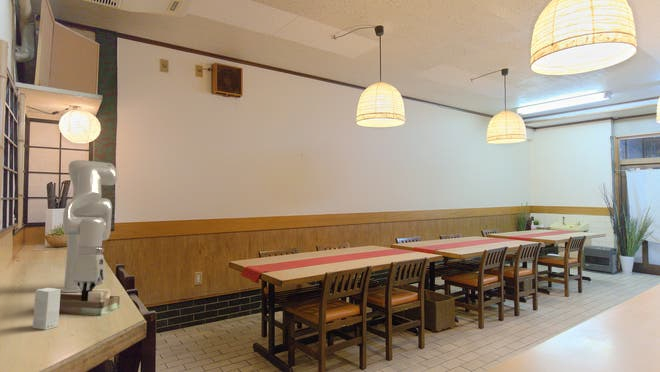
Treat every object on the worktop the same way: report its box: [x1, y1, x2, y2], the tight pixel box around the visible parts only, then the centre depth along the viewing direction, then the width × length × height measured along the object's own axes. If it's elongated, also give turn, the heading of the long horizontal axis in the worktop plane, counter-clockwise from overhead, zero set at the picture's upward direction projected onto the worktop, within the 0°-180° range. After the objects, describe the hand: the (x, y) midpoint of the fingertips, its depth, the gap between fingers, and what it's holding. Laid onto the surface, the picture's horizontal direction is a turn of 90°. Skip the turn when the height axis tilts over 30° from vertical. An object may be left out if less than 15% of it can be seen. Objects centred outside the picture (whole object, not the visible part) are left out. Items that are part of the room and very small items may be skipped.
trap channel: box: [59, 292, 121, 317], centre depth 141 cm, size 10×25×4 cm, turn 87°
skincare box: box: [32, 287, 62, 331], centre depth 121 cm, size 6×4×12 cm
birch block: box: [88, 288, 111, 302], centre depth 141 cm, size 5×5×5 cm
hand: (86, 300), depth 141 cm, fingers closed
